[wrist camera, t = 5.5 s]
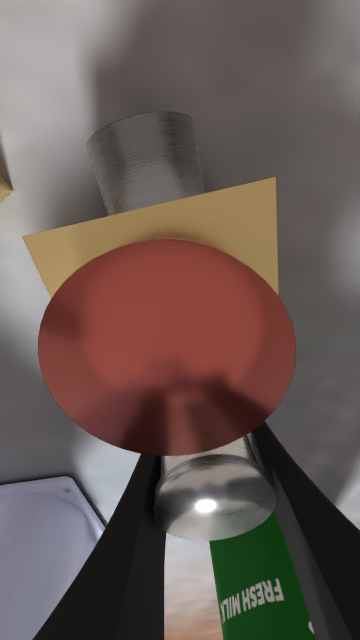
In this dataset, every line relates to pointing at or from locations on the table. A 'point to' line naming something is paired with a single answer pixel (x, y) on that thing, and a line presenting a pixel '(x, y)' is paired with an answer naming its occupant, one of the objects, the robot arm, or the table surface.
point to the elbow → (4, 189)
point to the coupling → (213, 493)
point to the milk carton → (259, 586)
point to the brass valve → (164, 298)
